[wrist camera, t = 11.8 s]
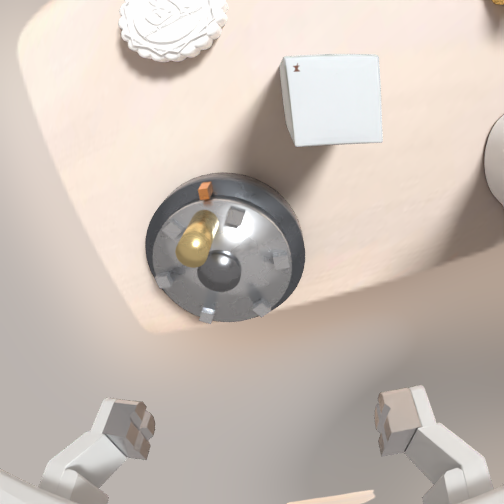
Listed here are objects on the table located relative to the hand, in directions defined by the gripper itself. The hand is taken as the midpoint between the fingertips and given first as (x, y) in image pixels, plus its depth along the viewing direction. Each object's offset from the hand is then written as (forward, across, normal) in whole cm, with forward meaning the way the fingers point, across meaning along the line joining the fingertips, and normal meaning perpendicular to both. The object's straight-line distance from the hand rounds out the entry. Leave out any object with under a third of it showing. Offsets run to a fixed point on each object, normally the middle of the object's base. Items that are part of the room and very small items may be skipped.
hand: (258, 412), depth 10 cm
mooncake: (+32, +8, -20) cm, 38 cm away
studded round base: (+28, +7, +10) cm, 30 cm away
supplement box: (+31, -6, -8) cm, 33 cm away
